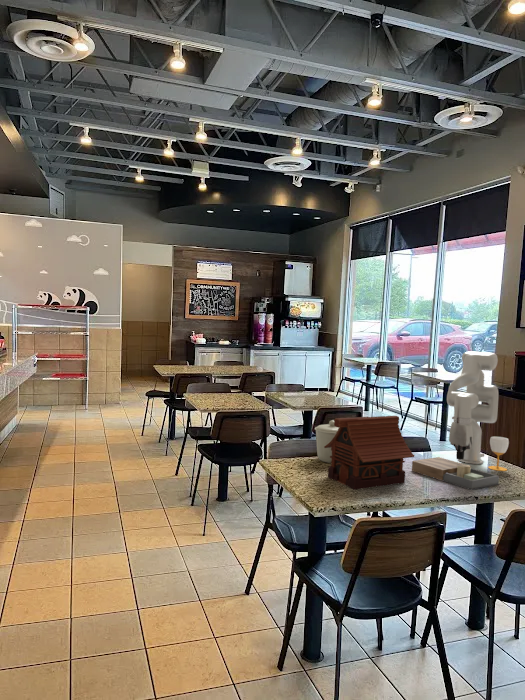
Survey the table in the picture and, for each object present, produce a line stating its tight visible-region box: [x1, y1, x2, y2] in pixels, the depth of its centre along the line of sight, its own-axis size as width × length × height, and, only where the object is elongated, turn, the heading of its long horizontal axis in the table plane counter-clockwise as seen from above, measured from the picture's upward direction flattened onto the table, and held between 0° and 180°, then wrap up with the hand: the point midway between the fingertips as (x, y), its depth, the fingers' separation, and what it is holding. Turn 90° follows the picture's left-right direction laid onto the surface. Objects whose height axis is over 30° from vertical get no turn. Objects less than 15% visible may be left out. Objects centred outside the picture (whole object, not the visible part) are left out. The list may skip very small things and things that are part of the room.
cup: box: [487, 435, 510, 472], centre depth 268 cm, size 9×9×16 cm
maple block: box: [457, 464, 472, 478], centre depth 243 cm, size 6×6×3 cm
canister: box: [314, 419, 339, 464], centre depth 269 cm, size 18×18×21 cm
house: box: [324, 415, 415, 490], centre depth 235 cm, size 35×28×29 cm
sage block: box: [464, 473, 484, 480], centre depth 239 cm, size 6×6×3 cm
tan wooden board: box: [411, 456, 467, 482], centre depth 254 cm, size 20×18×5 cm
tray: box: [442, 467, 500, 491], centre depth 240 cm, size 20×15×4 cm
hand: (460, 458), depth 246 cm, fingers closed
